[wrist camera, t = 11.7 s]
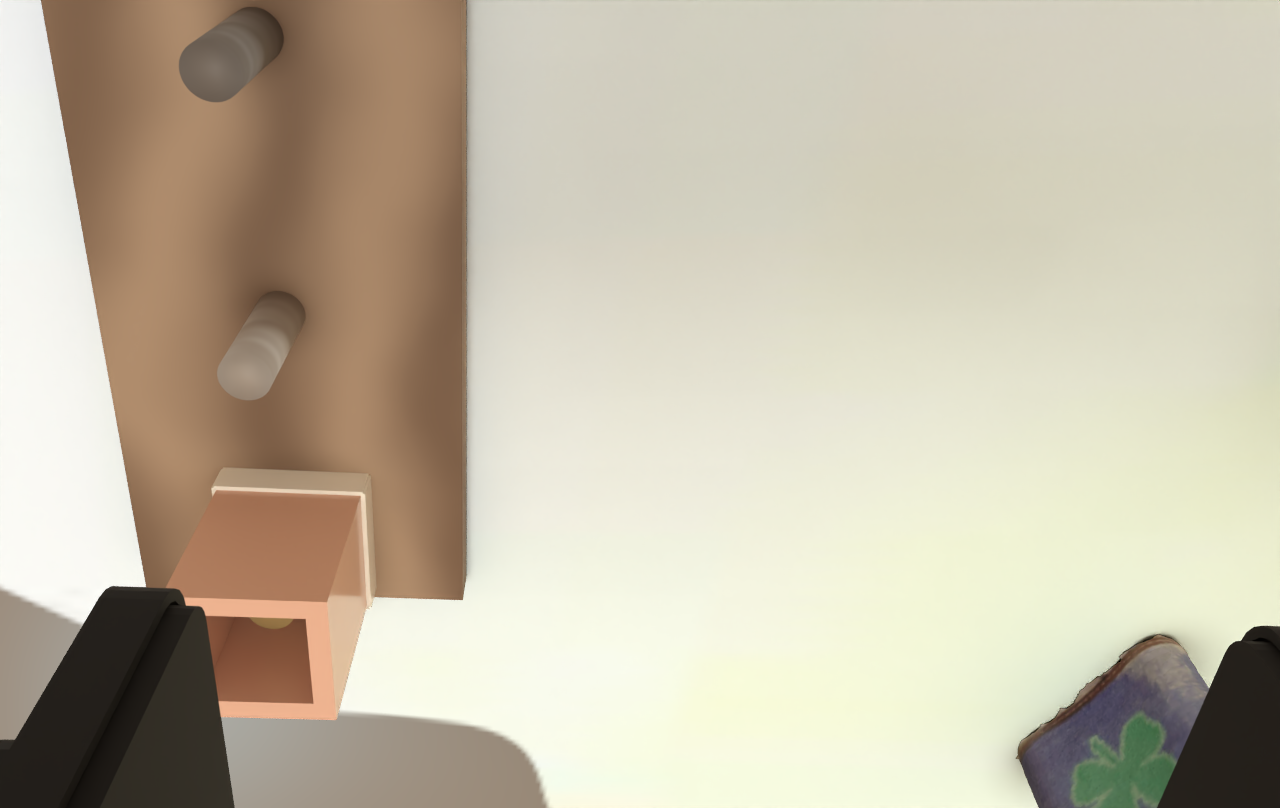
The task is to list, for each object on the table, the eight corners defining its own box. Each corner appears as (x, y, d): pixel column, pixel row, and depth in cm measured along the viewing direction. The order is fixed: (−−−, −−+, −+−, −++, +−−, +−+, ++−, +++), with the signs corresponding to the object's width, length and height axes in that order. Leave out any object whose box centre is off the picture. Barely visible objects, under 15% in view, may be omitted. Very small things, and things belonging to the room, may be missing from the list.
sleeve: (370, 473, 40) (332, 598, 34) (376, 588, 43) (341, 723, 37) (220, 467, 40) (154, 592, 34) (235, 584, 43) (177, 719, 37)
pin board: (466, -66, 33) (443, -35, 28) (466, 575, 45) (450, 681, 40) (47, -98, 32) (-58, -72, 27) (160, 564, 44) (102, 672, 39)
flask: (1154, 623, 48) (1291, 833, 38) (1199, 652, 49) (1344, 864, 39) (1001, 752, 51) (1093, 973, 42) (1046, 777, 52) (1145, 998, 43)
